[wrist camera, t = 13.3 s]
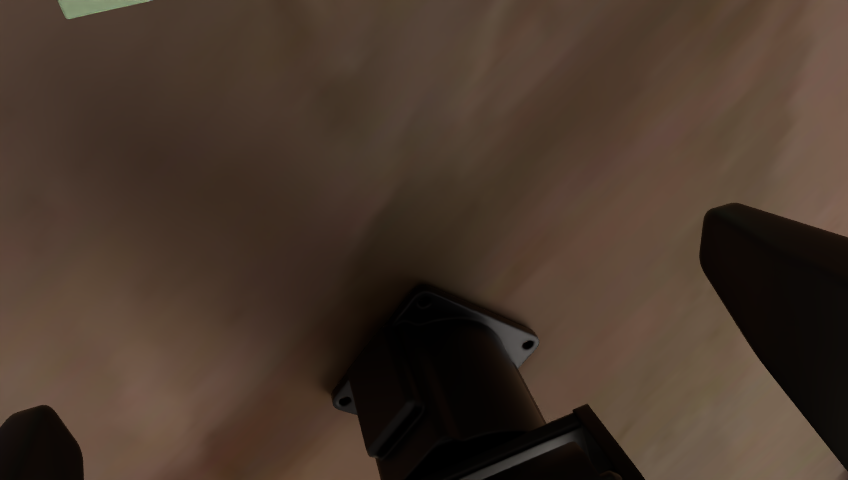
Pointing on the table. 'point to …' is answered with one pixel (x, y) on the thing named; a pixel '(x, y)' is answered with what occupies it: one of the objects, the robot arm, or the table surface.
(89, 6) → the bin
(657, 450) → the table surface
